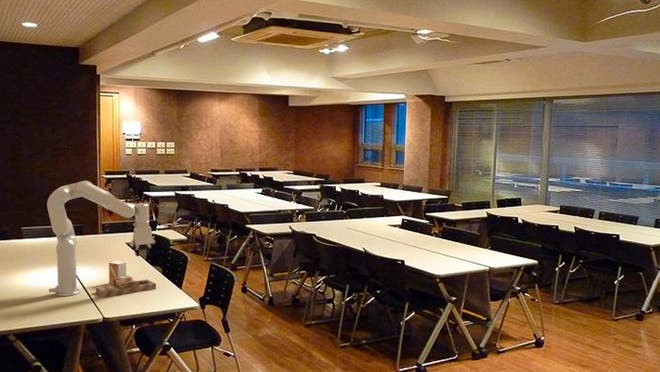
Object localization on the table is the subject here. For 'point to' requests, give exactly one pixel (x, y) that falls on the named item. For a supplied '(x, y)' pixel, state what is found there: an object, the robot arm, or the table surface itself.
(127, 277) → the maple cube
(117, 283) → the sled
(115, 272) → the small box
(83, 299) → the table surface
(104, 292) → the track
